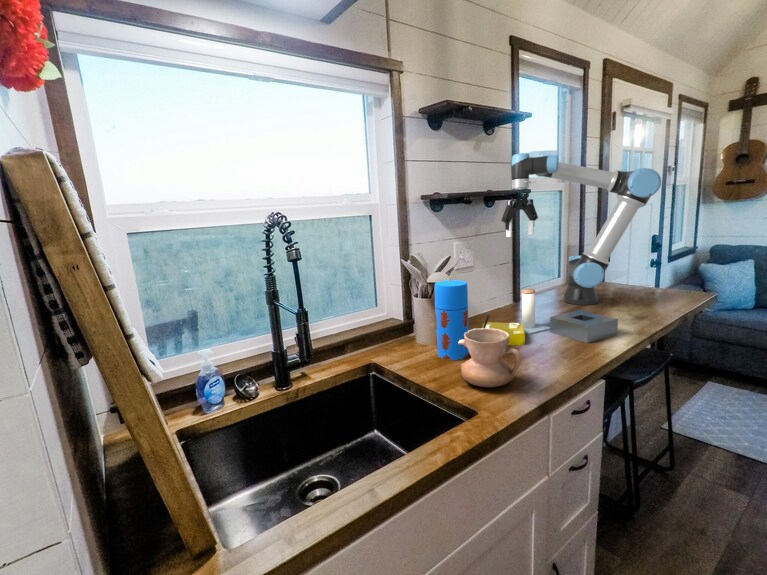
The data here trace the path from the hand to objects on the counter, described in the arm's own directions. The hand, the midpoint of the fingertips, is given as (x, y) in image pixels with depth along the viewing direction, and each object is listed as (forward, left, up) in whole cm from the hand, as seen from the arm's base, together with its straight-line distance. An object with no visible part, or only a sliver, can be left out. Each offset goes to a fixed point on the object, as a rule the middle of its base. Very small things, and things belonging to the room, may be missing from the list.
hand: (520, 235), depth 178 cm
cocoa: (+50, +30, -35) cm, 68 cm away
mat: (+21, +26, -35) cm, 48 cm away
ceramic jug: (+66, +55, -35) cm, 93 cm away
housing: (+10, +42, -35) cm, 55 cm away
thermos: (+62, +32, -35) cm, 78 cm away
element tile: (+37, +29, -35) cm, 59 cm away
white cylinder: (+21, +26, -34) cm, 48 cm away
